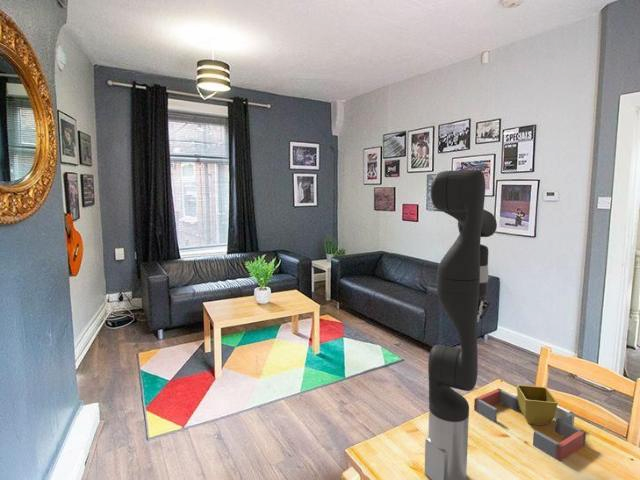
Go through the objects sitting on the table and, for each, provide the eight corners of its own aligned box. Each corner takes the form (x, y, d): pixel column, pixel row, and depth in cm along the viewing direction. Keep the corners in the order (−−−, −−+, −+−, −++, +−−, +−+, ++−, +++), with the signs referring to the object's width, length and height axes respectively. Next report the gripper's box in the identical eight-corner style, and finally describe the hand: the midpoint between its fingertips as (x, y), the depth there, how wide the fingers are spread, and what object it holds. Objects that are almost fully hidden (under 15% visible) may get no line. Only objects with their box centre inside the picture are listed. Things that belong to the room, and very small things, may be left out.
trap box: (596, 437, 104) (597, 424, 104) (560, 461, 95) (561, 447, 94) (510, 393, 127) (510, 383, 127) (474, 410, 118) (474, 398, 117)
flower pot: (556, 431, 107) (558, 402, 106) (524, 427, 109) (525, 399, 108) (544, 413, 116) (546, 387, 114) (514, 410, 117) (516, 384, 116)
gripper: (470, 284, 104) (468, 342, 106) (499, 278, 110) (496, 333, 112) (449, 279, 110) (447, 333, 112) (478, 274, 117) (476, 325, 119)
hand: (472, 333), depth 112 cm, fingers closed
